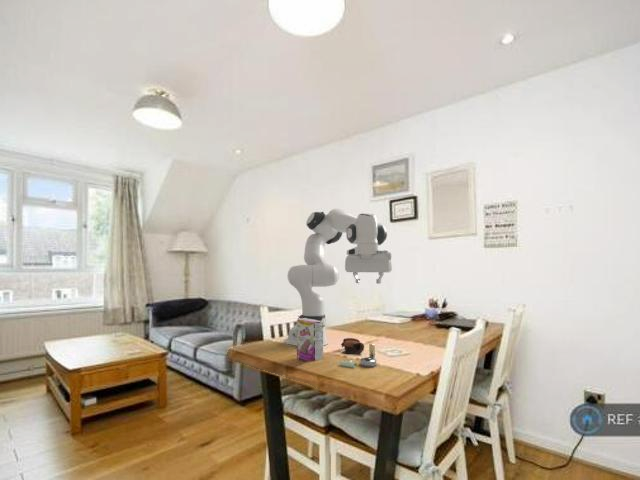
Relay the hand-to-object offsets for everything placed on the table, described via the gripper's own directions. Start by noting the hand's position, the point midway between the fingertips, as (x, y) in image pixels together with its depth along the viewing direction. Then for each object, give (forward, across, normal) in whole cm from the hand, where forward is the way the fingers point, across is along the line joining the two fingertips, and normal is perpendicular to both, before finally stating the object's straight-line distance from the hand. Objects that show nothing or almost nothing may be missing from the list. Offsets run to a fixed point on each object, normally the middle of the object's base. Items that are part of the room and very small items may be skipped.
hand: (368, 283), depth 138 cm
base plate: (+31, -5, +13) cm, 34 cm away
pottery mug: (+31, +8, -1) cm, 32 cm away
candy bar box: (+31, +20, +15) cm, 40 cm away
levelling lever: (+30, -5, +11) cm, 32 cm away
